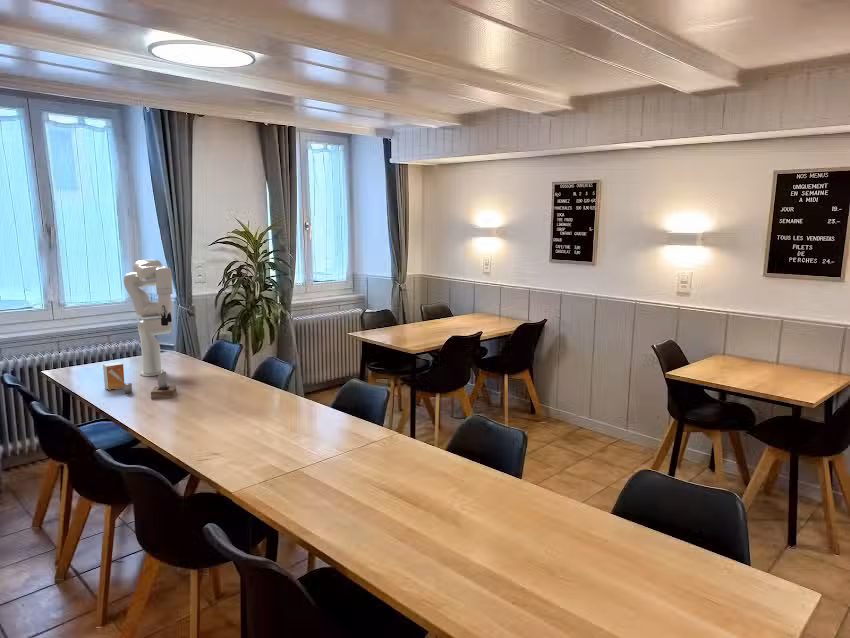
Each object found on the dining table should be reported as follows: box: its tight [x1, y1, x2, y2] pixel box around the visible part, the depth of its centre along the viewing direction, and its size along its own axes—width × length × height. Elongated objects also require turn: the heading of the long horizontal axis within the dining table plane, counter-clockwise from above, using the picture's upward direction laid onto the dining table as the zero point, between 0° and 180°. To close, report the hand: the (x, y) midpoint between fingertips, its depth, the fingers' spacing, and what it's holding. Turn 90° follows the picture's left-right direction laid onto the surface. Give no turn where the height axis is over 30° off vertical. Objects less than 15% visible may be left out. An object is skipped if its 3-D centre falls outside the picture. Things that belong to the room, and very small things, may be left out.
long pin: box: [158, 370, 168, 390], centre depth 290 cm, size 4×4×12 cm
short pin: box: [123, 382, 133, 395], centre depth 293 cm, size 4×4×5 cm
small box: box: [102, 361, 126, 391], centre depth 301 cm, size 8×6×13 cm
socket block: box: [150, 384, 177, 400], centre depth 291 cm, size 10×10×4 cm
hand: (166, 323), depth 303 cm, fingers open, 9 cm apart
